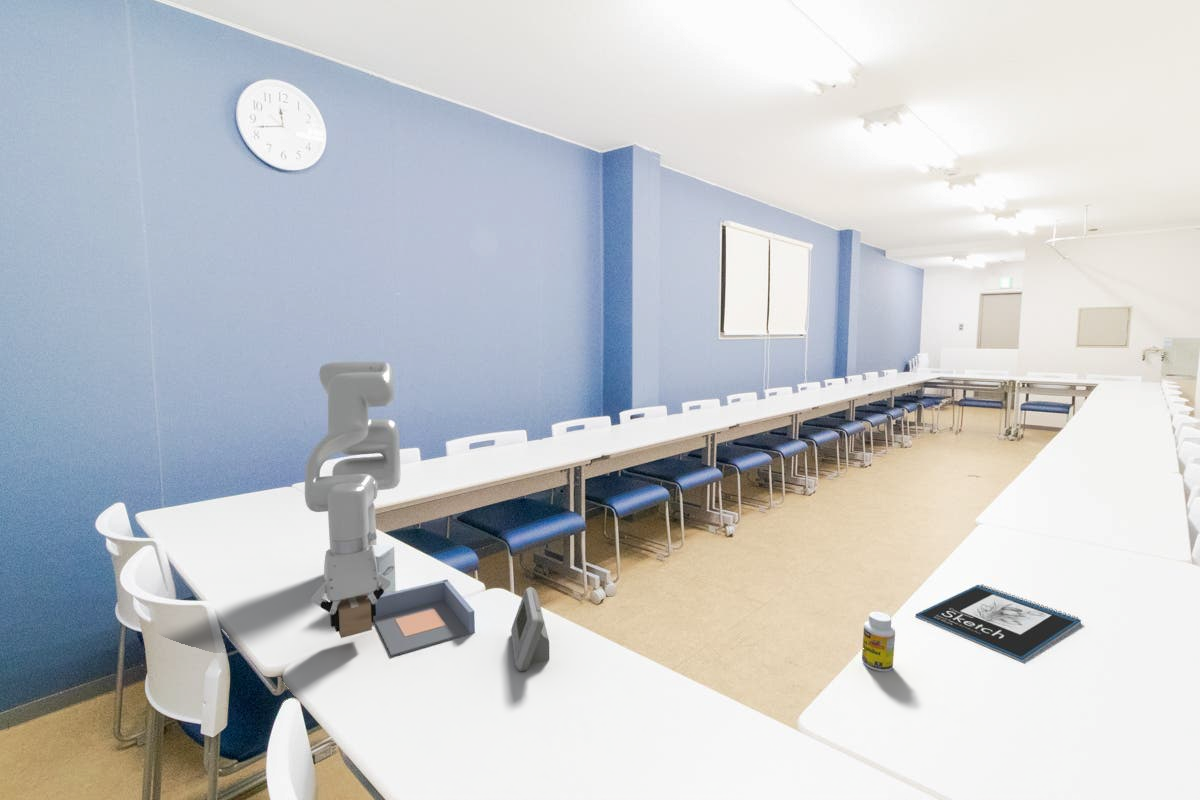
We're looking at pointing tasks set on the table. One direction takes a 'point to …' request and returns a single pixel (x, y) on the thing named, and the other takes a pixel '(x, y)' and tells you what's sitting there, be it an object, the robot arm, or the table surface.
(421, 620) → the arena
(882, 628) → the supplement bottle
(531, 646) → the digital clock
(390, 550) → the supplement box
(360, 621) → the brown cardboard box
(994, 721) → the table surface
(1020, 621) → the sketchbook
